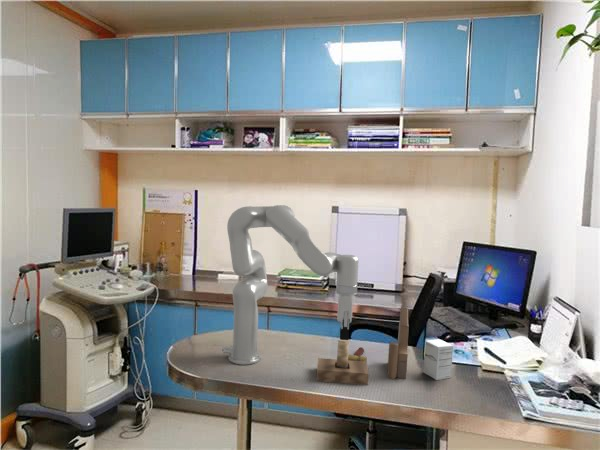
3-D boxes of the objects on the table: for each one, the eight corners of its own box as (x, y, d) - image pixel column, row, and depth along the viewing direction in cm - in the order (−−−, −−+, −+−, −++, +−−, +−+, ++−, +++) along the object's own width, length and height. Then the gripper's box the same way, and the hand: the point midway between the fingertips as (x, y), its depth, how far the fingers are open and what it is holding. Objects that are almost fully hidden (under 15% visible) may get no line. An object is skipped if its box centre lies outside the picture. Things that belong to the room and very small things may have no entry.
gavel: (351, 341, 182) (374, 344, 178) (350, 351, 182) (373, 355, 178) (339, 354, 162) (364, 358, 159) (338, 365, 162) (364, 370, 159)
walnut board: (316, 380, 147) (317, 369, 147) (317, 368, 158) (318, 358, 158) (367, 384, 146) (368, 373, 145) (365, 372, 157) (365, 361, 156)
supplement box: (422, 372, 159) (424, 340, 158) (437, 370, 162) (440, 338, 161) (436, 380, 152) (438, 346, 151) (451, 378, 155) (454, 344, 154)
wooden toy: (387, 362, 167) (390, 301, 165) (404, 364, 166) (408, 302, 164) (387, 378, 152) (391, 311, 150) (406, 380, 151) (410, 313, 149)
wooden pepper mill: (336, 375, 150) (337, 342, 149) (336, 370, 154) (337, 339, 153) (347, 376, 150) (349, 343, 149) (347, 371, 154) (348, 339, 153)
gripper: (335, 284, 157) (333, 332, 159) (336, 293, 143) (334, 345, 144) (355, 285, 157) (353, 333, 158) (358, 294, 142) (355, 347, 143)
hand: (344, 339), depth 151 cm, fingers closed
